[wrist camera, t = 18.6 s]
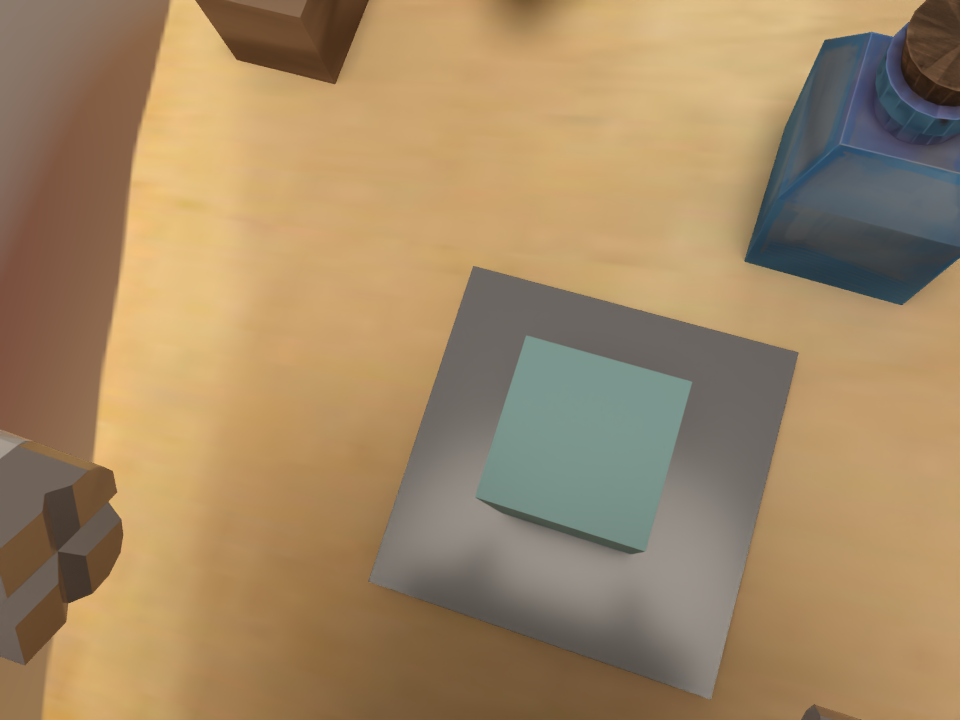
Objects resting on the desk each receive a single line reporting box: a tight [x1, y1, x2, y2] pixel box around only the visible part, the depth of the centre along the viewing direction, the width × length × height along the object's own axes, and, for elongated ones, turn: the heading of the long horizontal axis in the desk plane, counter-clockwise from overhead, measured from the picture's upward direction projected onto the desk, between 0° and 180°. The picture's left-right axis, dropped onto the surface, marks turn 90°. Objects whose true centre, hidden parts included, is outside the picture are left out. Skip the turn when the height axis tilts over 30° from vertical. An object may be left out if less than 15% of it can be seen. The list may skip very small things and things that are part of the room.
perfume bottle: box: [745, 0, 960, 305], centre depth 29 cm, size 6×6×12 cm
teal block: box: [475, 335, 692, 554], centre depth 29 cm, size 5×5×8 cm
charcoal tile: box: [368, 266, 798, 700], centre depth 33 cm, size 13×13×1 cm
